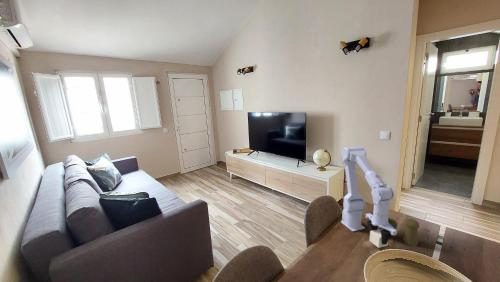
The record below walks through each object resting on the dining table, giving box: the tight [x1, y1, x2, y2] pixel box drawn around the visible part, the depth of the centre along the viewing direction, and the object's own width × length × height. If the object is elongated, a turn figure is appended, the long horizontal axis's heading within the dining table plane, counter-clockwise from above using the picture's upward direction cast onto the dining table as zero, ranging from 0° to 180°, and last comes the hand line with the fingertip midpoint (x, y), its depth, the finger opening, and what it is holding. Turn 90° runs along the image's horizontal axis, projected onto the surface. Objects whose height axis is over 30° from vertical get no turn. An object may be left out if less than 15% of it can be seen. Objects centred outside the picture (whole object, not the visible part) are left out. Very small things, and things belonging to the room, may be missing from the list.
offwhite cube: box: [369, 228, 389, 248], centre depth 95 cm, size 5×5×5 cm
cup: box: [380, 217, 399, 237], centre depth 106 cm, size 8×7×8 cm
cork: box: [402, 218, 420, 247], centre depth 100 cm, size 6×6×11 cm
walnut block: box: [362, 239, 394, 255], centre depth 96 cm, size 9×9×3 cm
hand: (379, 239), depth 96 cm, fingers closed on offwhite cube, 5 cm apart
